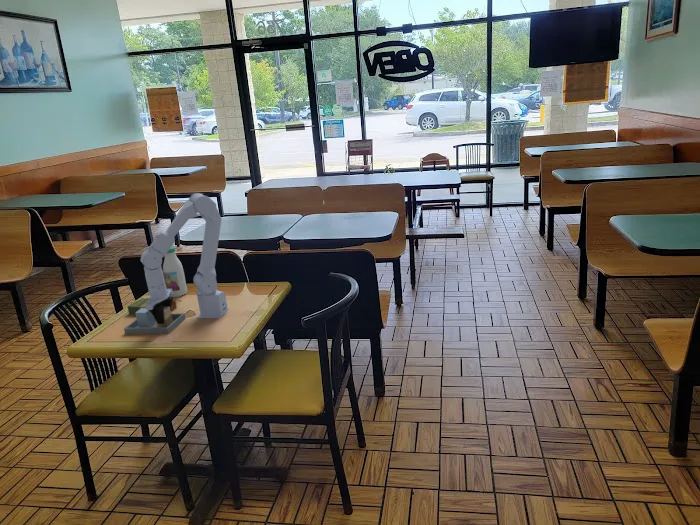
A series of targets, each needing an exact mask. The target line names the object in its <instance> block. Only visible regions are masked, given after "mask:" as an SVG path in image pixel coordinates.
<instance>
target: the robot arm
mask: <svg viewBox="0 0 700 525" xmlns="http://www.w3.org/2000/svg"><path fill="white" fill-rule="evenodd" d="M199 215H200V216H201V218H202V219H203V220H204V221H205V227H204V233H203V234H204V235H203V241H202V248H201V255H200V263H199V266H198V267H197V271H196V273H195V275H194V276H193V279H192V280H193V284H194V286H195V287H196V289H197V290H196V297H197V301H198V302H197V303H198V308H199V312H200V313H199V314H198V315H197V316H196V319H221V318H222V317H223V316H224V315H225V314H226V313H227V312H228V311H229V310H230V309H229V308H228V303H227V297H226V293H225V292H224V291H220V290H218V281H217V273H216V268H215V267H216V261H217V255H218V254H217V252H218V247H219V241H220V240H219V239H220V235H221V234H220V233H221V225H222V217H221V215H220V212H219V209H218V207H217V204H216V202H215V201H214V200H213V199H212V198H211V197H209V196H208V195H204V194H203V193H199V192H196V193H193V194H191V195H190V196H189V198H188V199H187V200H186V201H185V202H184V204H183V205H182V207H181V209H180V210H179V212H178V213H177V214H176V216H175V217H174V219H173V220H172V222H171V223H170V224H169V226H168V227H167V229H166V230H165V231H160V232H159V233H156V234H155V235H154V240H153V241H152V242H151V244H150V245H149V246H147V247H146V250H144V251H143V252H142V253H141V255H140V259H139V260H140V262H141V263H142V265H143V270H144V275H145V276H144V277H145V281H146V285H147V289H148V293H149V295H148V296H147V299H149V301H148V303H147V304H146V305H145V306H146V310H149V311H150V312H151V313H152V315H153V316H154V318H155V319H156V321H157V323H158V324H164V306H170V310H171V306H172V302H173V300H174V297H169V295H172V294H173V292H172V289H167V287H166V283H165V278H164V272H163V268H162V265H163V264H162V263H163V258H165V255H166V253H167V252H168V251H169V249H170V248H171V247H173V245H174V244H175V243H176V241H175V236H176V235H177V234H178V233H179V232H180V230H181V229H182V228H184V226H185V225H186V223H187V222H189V220H190V219H194V218H197V217H199Z"/></svg>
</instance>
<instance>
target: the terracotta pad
mask: <svg viewBox="0 0 700 525" xmlns="http://www.w3.org/2000/svg"><path fill="white" fill-rule="evenodd" d="M179 336H180V333H169V334H158V336H157V337H156V338H155V339H154V340H152V342H150V345H171V343H173V341H175V340H176V339H177V338H178V337H179Z"/></svg>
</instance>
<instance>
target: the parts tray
mask: <svg viewBox="0 0 700 525" xmlns="http://www.w3.org/2000/svg"><path fill="white" fill-rule="evenodd" d="M171 315H172V319H173V322H172V323H171V324H170V325H169V326H168V327H157V325H156V320H155V318H154V321H155V324H154V325H153V326H152V327H150V328H139V327H138V322H137V318H136V319H134V320H133V321H132V322H131V323H129V324H128V325H127V326H125V327H124V328H123V330H124V334H125V335H161V334H171V333H172V331H174V330H175V329H176V328H177V327H179V325H180V324H182V323H183V321H184V320H186V314H185V313H184V312H183V313H181V312H180V313H178V312H177V313H172V312H171Z"/></svg>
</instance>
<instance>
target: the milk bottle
mask: <svg viewBox="0 0 700 525" xmlns="http://www.w3.org/2000/svg"><path fill="white" fill-rule="evenodd" d="M163 261H164V262H163V264H162V271H163V275H164V280H165V285H166V289H172V292H173V294H172V295H169V297H173V298H179V297H183V296H185V295H186V294H187V293H188V288H187V283H186V276H185V271H184V268H183V265H182V262H181V261H180V259H179V258H178V257H177V254H176V248H175V246H172V247H171V248H170V249H169V251H168V252H167V253H166V255H165V256H164V260H163ZM184 294H185V295H184ZM182 295H183V296H182Z"/></svg>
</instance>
